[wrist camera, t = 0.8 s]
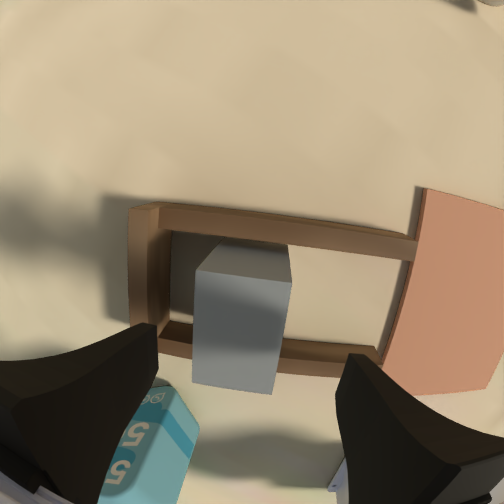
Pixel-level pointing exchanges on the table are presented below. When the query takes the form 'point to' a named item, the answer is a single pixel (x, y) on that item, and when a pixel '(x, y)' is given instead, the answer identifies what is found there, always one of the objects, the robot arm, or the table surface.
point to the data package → (152, 452)
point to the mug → (493, 2)
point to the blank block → (240, 314)
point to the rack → (246, 227)
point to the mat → (450, 300)
